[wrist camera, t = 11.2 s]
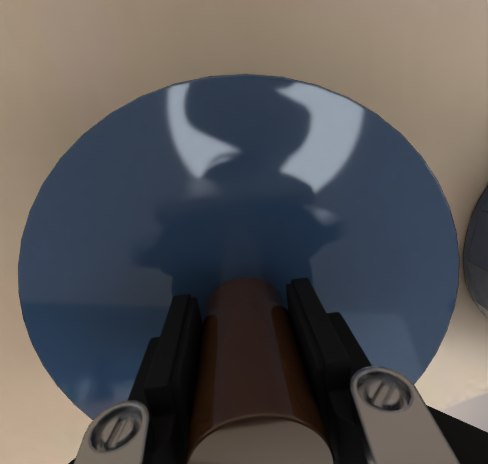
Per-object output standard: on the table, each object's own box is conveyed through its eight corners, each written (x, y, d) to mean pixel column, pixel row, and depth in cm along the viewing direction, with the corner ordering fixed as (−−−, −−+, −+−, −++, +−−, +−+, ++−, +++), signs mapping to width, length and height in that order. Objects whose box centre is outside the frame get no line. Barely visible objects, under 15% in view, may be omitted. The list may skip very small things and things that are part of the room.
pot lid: (-57, 194, 11) (-482, 293, 4) (386, -9, 9) (723, -298, 3) (159, 479, 16) (110, 722, 9) (467, 373, 14) (658, 570, 8)
